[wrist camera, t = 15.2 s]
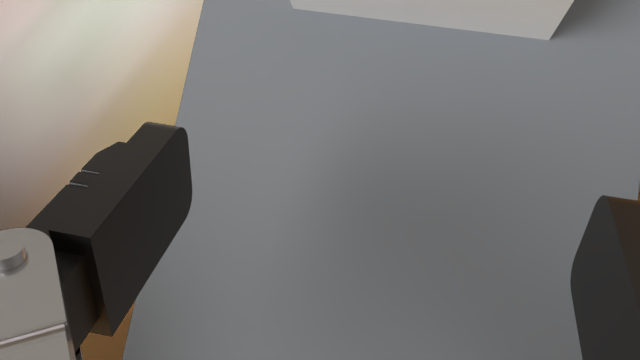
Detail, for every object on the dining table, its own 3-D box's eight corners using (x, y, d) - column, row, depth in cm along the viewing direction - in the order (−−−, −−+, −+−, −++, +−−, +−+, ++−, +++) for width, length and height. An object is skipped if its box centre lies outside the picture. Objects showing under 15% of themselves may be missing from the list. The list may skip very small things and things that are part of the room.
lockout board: (263, -216, 23) (237, -323, 19) (666, -188, 21) (731, -300, 17) (125, 398, 19) (58, 425, 15) (593, 503, 17) (653, 566, 13)
